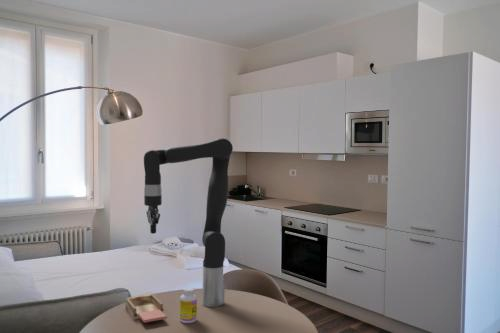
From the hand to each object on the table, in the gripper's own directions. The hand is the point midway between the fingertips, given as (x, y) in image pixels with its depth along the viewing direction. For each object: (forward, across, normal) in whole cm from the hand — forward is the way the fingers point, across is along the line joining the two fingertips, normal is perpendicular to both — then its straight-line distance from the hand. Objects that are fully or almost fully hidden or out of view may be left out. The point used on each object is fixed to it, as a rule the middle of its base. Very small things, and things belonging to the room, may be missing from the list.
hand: (153, 233), depth 178 cm
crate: (+32, -7, +6) cm, 33 cm away
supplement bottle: (+32, -25, -6) cm, 41 cm away
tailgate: (+30, -14, +6) cm, 34 cm away
